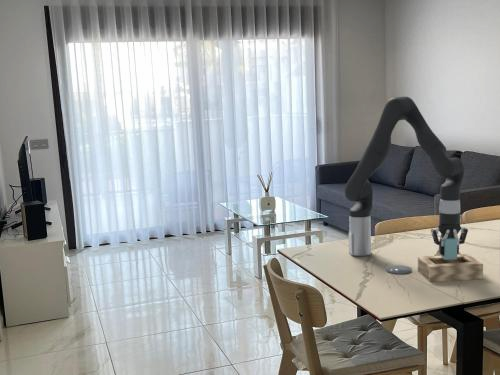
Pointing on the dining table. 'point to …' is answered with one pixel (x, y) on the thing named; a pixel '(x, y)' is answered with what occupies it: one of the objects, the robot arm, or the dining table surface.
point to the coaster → (398, 269)
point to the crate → (450, 268)
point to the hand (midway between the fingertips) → (449, 254)
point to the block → (450, 249)
